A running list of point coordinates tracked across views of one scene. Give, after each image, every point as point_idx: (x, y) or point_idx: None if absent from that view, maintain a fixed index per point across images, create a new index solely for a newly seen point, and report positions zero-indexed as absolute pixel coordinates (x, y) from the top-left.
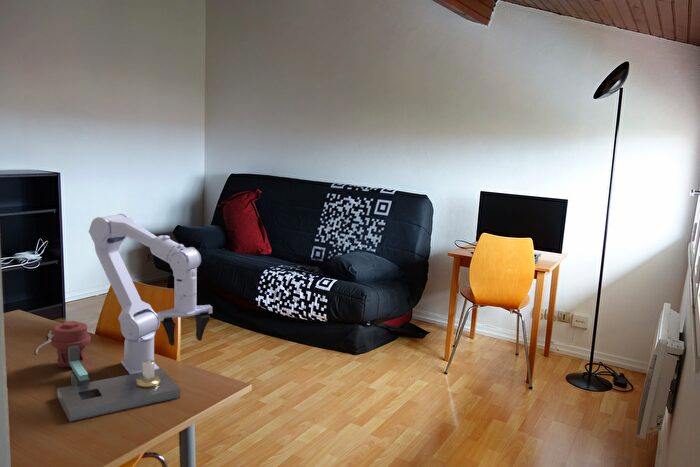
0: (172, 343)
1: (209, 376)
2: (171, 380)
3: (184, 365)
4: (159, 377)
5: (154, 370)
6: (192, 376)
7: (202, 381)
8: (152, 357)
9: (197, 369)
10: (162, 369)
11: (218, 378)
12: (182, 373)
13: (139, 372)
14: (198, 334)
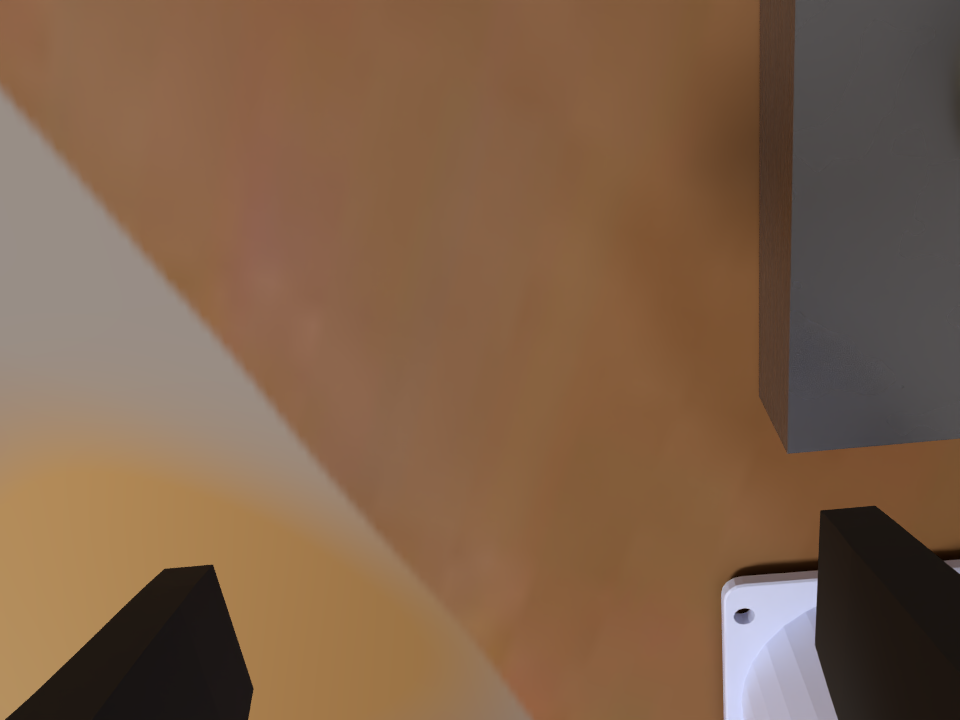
0: (890, 529)
1: (221, 227)
2: (816, 21)
3: (439, 586)
4: (928, 193)
5: (895, 427)
6: (420, 297)
7: (333, 111)
8: (815, 712)
9: (325, 454)
10: (791, 424)
11: (117, 128)
12: (510, 412)
13: (945, 562)
14: (181, 715)
